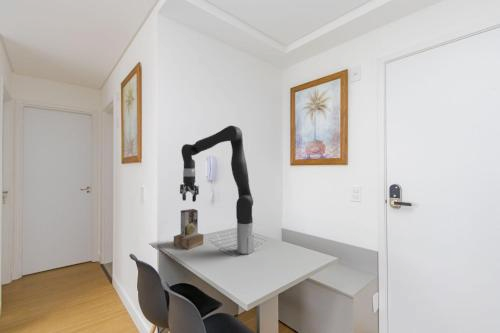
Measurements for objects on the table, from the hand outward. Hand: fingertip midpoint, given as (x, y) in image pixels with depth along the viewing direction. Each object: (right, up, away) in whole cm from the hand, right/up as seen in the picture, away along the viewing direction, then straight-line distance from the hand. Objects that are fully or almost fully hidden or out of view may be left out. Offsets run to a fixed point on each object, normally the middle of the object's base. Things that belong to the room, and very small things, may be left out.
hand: (189, 200), depth 153 cm
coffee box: (0, -22, 0) cm, 22 cm away
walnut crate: (0, -28, 0) cm, 28 cm away
